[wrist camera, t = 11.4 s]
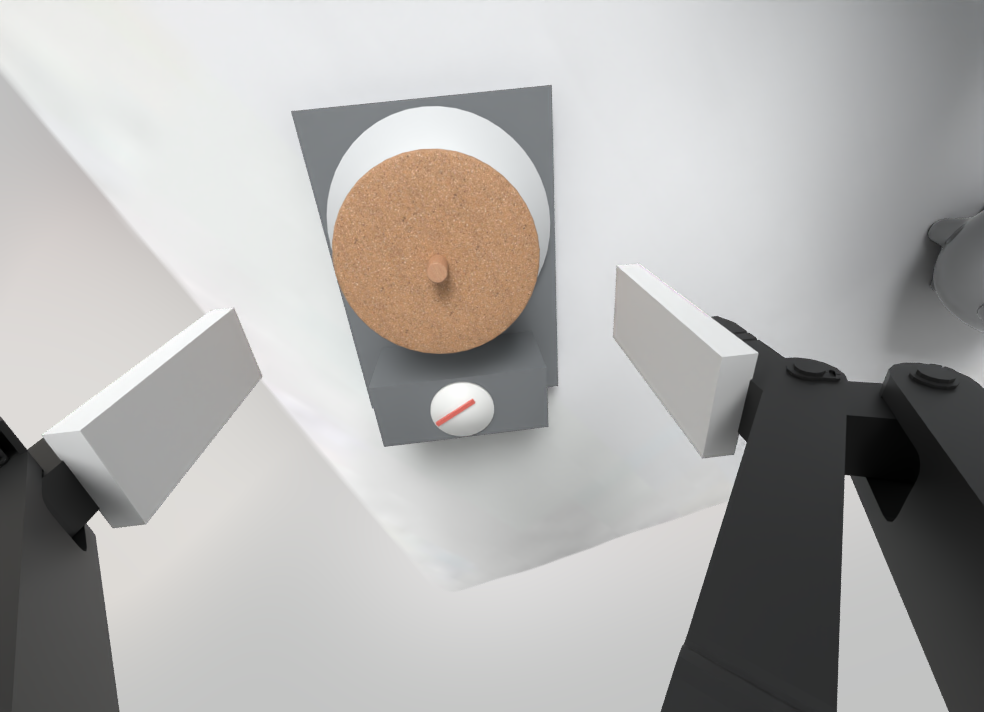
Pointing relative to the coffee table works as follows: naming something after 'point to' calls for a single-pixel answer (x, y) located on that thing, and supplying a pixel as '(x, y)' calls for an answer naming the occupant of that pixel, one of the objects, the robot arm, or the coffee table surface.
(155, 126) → the coffee table surface
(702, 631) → the robot arm
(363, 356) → the scale
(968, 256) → the piggy bank
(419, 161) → the lidded jar
